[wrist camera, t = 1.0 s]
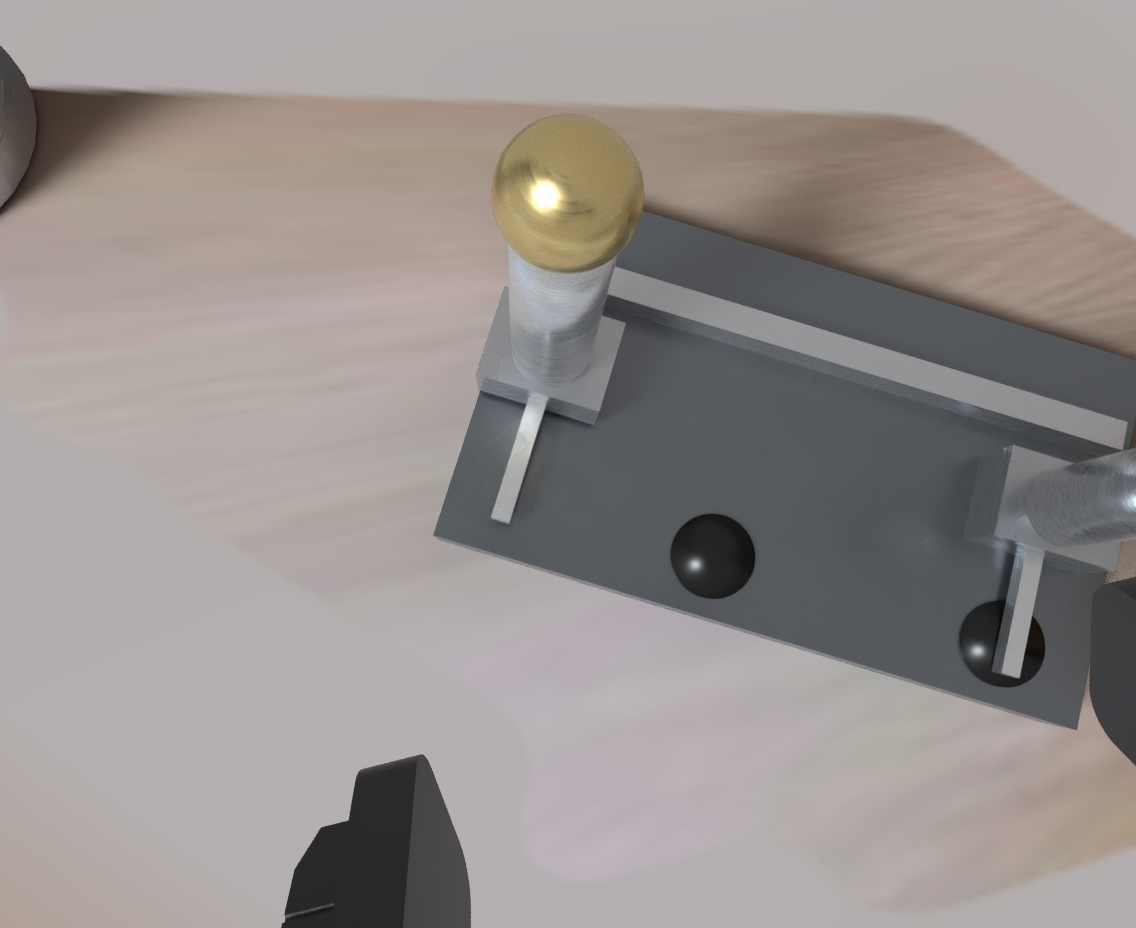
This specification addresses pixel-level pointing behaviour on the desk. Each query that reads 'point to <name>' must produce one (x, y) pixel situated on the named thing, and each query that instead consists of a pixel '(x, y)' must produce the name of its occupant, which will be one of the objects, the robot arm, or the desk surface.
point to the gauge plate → (806, 466)
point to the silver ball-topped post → (1048, 525)
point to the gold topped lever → (557, 275)
